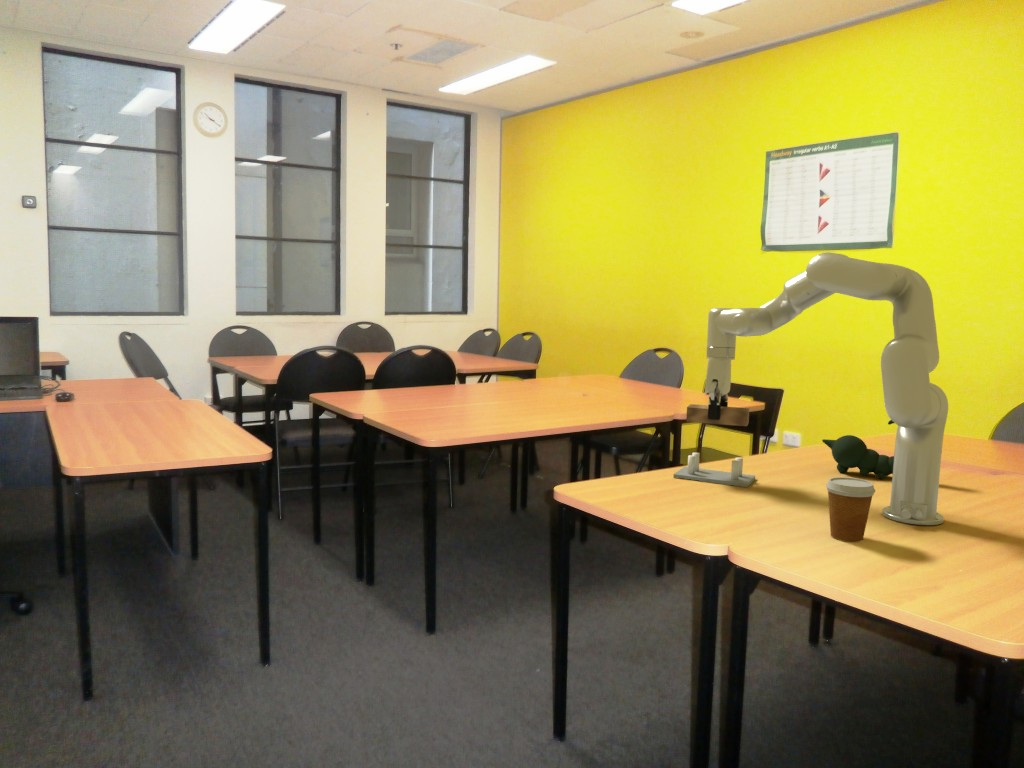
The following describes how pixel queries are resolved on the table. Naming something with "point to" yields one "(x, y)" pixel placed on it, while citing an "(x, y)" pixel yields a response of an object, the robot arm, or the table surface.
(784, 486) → the table surface
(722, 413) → the shelf plank
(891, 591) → the table surface
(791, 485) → the table surface
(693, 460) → the peg rack
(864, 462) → the toy figurine
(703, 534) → the table surface
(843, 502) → the disposable coffee cup
